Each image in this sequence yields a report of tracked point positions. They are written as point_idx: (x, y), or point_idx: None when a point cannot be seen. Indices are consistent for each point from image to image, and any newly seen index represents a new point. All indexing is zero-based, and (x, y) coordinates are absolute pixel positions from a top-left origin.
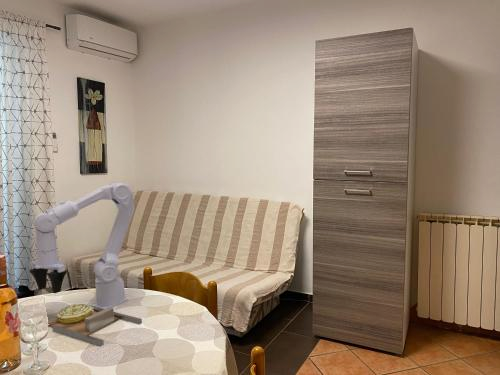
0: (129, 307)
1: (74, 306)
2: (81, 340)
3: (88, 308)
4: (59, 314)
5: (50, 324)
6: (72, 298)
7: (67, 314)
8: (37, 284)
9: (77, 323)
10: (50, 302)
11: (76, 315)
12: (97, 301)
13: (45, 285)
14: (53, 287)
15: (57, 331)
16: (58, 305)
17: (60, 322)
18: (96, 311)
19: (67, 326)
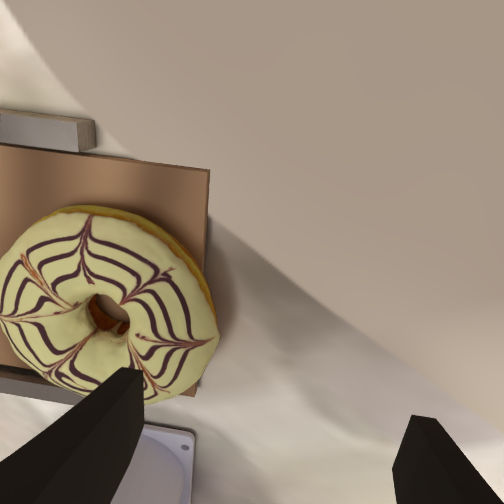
0: (10, 452)
1: (132, 359)
2: None
3: (23, 357)
4: (122, 242)
5: (167, 173)
6: (393, 490)
7: (52, 250)
8: (469, 477)
9: None
10: (494, 433)
11: (3, 264)
12: (132, 457)
13: (400, 497)
14: (63, 416)
15: (35, 114)
16: (400, 411)
17: (117, 209)
18: None
19: (36, 186)
